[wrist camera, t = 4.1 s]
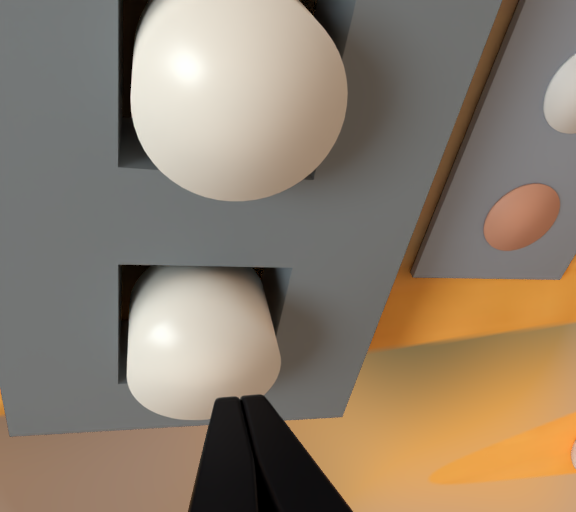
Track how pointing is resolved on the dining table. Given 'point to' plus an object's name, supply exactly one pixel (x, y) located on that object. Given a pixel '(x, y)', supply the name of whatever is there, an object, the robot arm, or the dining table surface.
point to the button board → (207, 207)
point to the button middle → (235, 94)
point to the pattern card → (514, 161)
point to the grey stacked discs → (573, 454)
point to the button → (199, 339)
